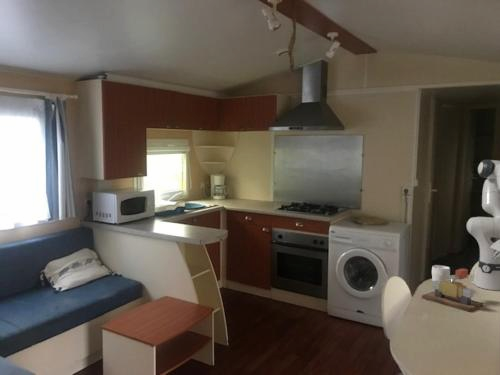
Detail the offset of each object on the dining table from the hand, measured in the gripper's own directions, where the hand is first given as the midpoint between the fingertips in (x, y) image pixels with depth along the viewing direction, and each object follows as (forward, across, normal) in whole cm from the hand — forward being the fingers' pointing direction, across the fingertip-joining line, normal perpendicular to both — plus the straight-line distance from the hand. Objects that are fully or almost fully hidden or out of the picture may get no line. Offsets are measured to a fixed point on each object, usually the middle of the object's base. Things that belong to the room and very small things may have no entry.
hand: (493, 259), depth 196 cm
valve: (+28, +1, +1) cm, 28 cm away
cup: (+27, -22, +4) cm, 35 cm away
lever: (+19, -3, -2) cm, 19 cm away
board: (+28, 0, +2) cm, 29 cm away
